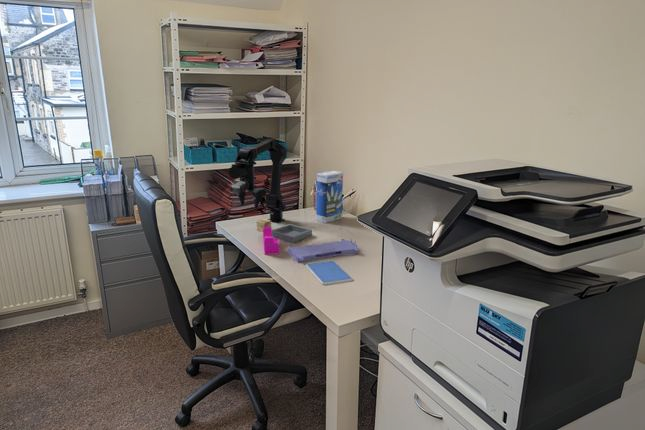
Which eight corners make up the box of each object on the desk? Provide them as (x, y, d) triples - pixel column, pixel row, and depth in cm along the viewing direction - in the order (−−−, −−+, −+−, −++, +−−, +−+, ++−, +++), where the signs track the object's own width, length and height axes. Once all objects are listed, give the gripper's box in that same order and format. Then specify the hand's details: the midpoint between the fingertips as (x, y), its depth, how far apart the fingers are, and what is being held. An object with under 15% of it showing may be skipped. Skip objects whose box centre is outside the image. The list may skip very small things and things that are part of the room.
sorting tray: (289, 229, 216) (289, 223, 216) (311, 235, 209) (311, 229, 208) (270, 236, 206) (270, 230, 205) (293, 243, 198) (293, 237, 197)
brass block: (263, 228, 218) (263, 218, 216) (271, 230, 215) (271, 220, 214) (256, 230, 214) (256, 221, 212) (264, 232, 211) (264, 223, 210)
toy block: (279, 254, 186) (279, 237, 183) (264, 254, 184) (264, 238, 182) (276, 242, 200) (276, 226, 197) (263, 242, 199) (262, 227, 196)
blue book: (304, 266, 175) (305, 263, 174) (333, 262, 179) (333, 259, 179) (322, 286, 157) (322, 283, 157) (353, 282, 162) (353, 278, 162)
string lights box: (325, 223, 228) (326, 175, 220) (315, 220, 233) (316, 173, 225) (341, 218, 237) (343, 172, 229) (331, 215, 242) (333, 170, 234)
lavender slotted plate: (363, 255, 188) (347, 243, 200) (364, 245, 186) (348, 235, 199) (299, 265, 175) (286, 252, 188) (299, 255, 174) (286, 243, 187)
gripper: (221, 175, 202) (223, 207, 207) (249, 181, 191) (250, 214, 196) (239, 171, 210) (240, 201, 215) (266, 176, 200) (267, 209, 205)
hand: (249, 206), depth 208 cm, fingers open, 9 cm apart
